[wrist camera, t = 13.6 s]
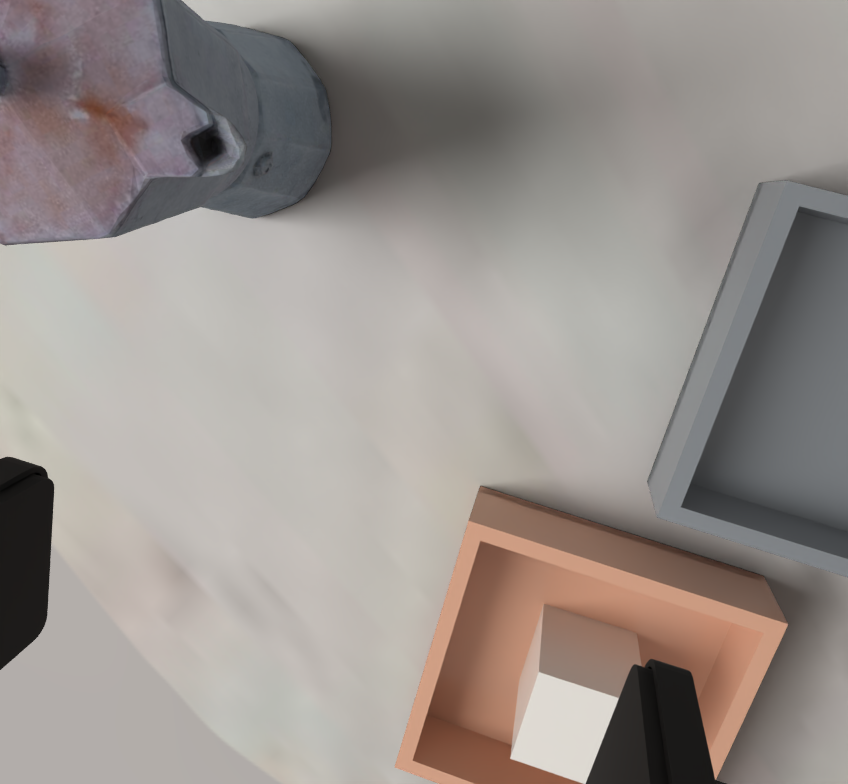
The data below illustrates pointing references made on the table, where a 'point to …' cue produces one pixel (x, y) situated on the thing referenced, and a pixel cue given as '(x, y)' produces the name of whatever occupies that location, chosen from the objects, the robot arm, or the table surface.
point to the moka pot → (147, 118)
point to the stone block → (570, 691)
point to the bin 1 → (587, 596)
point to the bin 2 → (770, 390)
